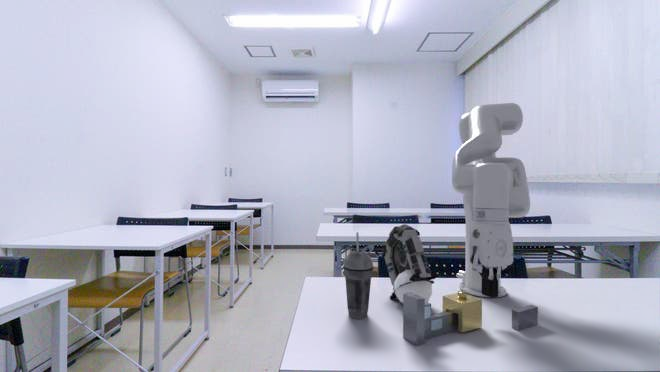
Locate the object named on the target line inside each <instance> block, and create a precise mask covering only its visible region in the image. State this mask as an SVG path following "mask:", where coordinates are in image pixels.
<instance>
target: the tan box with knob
mask: <svg viewBox="0 0 660 372" xmlns="http://www.w3.org/2000/svg"><path fill="white" fill-rule="evenodd" d="M449 310H450V311H452V312H455V313H457V314H459V324H458V332H461V333H467V332H469V331H472V330H476V329H479V328H482V325H483V299H482V298H479V297H477V296H474V295H472V294H468V293H466V292H464V291H462V290H459V291H458V290H457V293H451V294H447V295H446V294H445V295H442V311H441V312H445V311H449Z"/></svg>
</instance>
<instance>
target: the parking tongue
mask: <svg viewBox="0 0 660 372" xmlns="http://www.w3.org/2000/svg"><path fill="white" fill-rule="evenodd" d="M538 320H539V307H538V306H536V305H534V304H529V305H525V306H521V307H518V308H515V309H512V310H511V328H512V329H513V330H516V331H518V332H519V331H522V330H525V329H528V328H531V327H534V326H537V325H539V323H538V322H539V321H538Z"/></svg>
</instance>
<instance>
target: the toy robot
mask: <svg viewBox="0 0 660 372" xmlns="http://www.w3.org/2000/svg"><path fill="white" fill-rule="evenodd" d="M420 236H421V233H420V232H419V231H418V230H417V229H416V228H414V227H413V226H410V225H409V224H404V223H403V224H401V225H400V226H394V227H393V228H392V230H391V231H390V232H389V234H388V238H387V240H386V242H385V243H383V244H382V253H381V257H384V260H385V264H386V267H387V272H388V275H389V279H390V283H391V286H393V288H392V292H391V295H390V296H389V300H394V299H398V300H399V302H400V303H402V304H403V294H404V293H410V292H411V293H414V294H416V295H418V296H421V297H423V298H425V302H428V303H429V301H430V300H431V299H430V298H431V297H432V294H433V287H432V284H435V283H436V282H435V281H434V280H435V279H437V277H439V274H438V273H437V272H431V269H430V267H429V266H428V260H427V257H426V254H425V250H424V246H423V244H422V241H421V238H420Z"/></svg>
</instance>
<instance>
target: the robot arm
mask: <svg viewBox="0 0 660 372" xmlns="http://www.w3.org/2000/svg"><path fill="white" fill-rule="evenodd" d="M523 119H524V115H523V111H522V108H521V106H520V105H518V104H517V103H515V102H505V103H491V104H490V103H489V104H480V105H478V106H475V107H474V108H472V110H471V111H469V112H466V113H464V114H463V115H462V116H461V117H460V119H459V122H458V133H459V137H460V140H461V143H462V145H461V146H460V147H459V148H458V149H457V151H456V152H455V154H454V156H453V159H452V163H451V164H452V166H451V167H452V168H451V184H452V189H453V190H454V191H455V192H456V193H458V194H460V195H462V204H463V210H464V218H465V265H464V267H465V271H464V270H459V271H458V273H456V275H455V277H457V278H459V279H462V281H461V283H459V289H460V291H464V292H466V294H468V295H471V296H475V297H481V298H493V299H494V298H502V297H504V296H506V295H507V289H506V288H505V287H503V286H502V284H501V279H502V278H501V275H502V274H501V273H502V271H504V270H505V269H507V267H508V266H511V265H512V264H513V263H514V242H513V233H512V232H513V231H512V227H511V223H510V221H509V218H515V219H516V218H523V217H525V216H527V215H528V214H529V212H530V210H531V209H530V208H531V198H530V190H529V185H528V179H527V172H526V171H527V170H526V167H525V165H524V162H523V161H522V160H521V159H519V158H516V157H497V155H496V153H497V152H498V151H499V150H500V148H502V147H501V146H502V145H503V137H502V136H511V135H513V134H516V133H518V132H519V131H520V129H521V128H522V126H523V121H524V120H523Z"/></svg>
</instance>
